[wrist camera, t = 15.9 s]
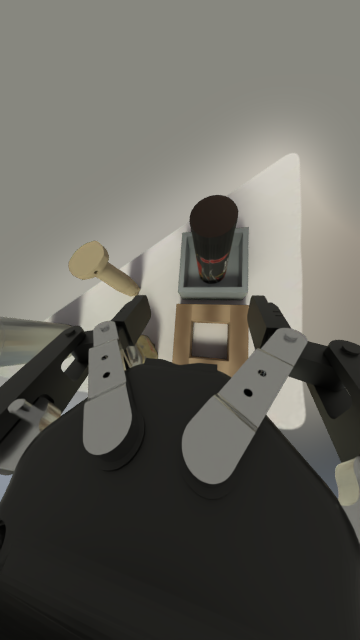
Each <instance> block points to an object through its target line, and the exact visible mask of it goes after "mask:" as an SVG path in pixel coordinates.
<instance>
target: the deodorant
mask: <svg viewBox="0 0 360 640" xmlns="http://www.w3.org/2000/svg"><path fill="white" fill-rule="evenodd" d="M237 218H238V209H237V206H236V204H235V203H234V201H233V200H231V199H230V198H228V197H226V196H222V195H213V196H209V197H207V198H204V199H203V200H201V201H199V202H198V203H197V204H196V205H195V206H194V208H193V210H192V211H191V215H190V226H191V232H192V237H193V243H194V249H195V254H196V260H197V265H198V271H199V276H200V278H201V279H202V280H203V281H204V282H205V283H208V284H215V283H218V282H220V281H221V280H222V279H223V278H224V276H225V274H226V270H227V265H228V260H229V256H230V251H231V246H232V242H233V237H234V232H235V228H236V223H237Z"/></svg>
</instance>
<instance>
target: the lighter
mask: <svg viewBox="0 0 360 640" xmlns="http://www.w3.org/2000/svg"><path fill="white" fill-rule="evenodd" d="M127 351H128V354H129V357H130V361H131V365H132V367H133V366H136V365H139V364H143V363H144V362H145V360H146V358H153V359H157V358H158V354H157V352H156V350H155V346H154V344H153V343H151V341H150V339H149V338H148V337H147V336H145V335H140V337H139V339H138V341H137V343H136V344H135V346H128V347H127Z"/></svg>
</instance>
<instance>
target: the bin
mask: <svg viewBox="0 0 360 640" xmlns="http://www.w3.org/2000/svg"><path fill="white" fill-rule="evenodd" d="M248 235H249V227H245V228H235V232H234V237H233V242H232V246H231V251H230V256H229V260H228V265H227V270H226V274H225V276H224V278H223V279H222V280H221V281H220V282H218V283H215V284H208V283H205V282H204V281H203V280H202V279H201V278H200V276H199V271H198V265H197V260H196V254H195V249H194V243H193V237H192V232H186V233H182V245H181V259H180V273H179V286H178V293H179V294H180V296H181V297H182V299H207V300H243V298H244V297H245V296H246V294H247V293H248Z"/></svg>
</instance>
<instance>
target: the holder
mask: <svg viewBox="0 0 360 640" xmlns="http://www.w3.org/2000/svg"><path fill="white" fill-rule="evenodd" d="M248 309H249V305H209V304H177V305H176V319H175V333H174V346H173V360H172V363H174V364H177V365H184V364H192V363H207V364H217V370H218V371H221V372H223V373H225V374H227V375H229V376H230V377H233V375H234V374H235V373H236V372H237V371H238V370H239V368H240V367H241V366H242V365H243V364H244V363H245V362H246V360H247V359H248V328H249V326H248V322H247V314H248ZM193 322H197V323H219V324H228V339H227V359H218V358H207V357H196V356H191V355H192V338H193Z"/></svg>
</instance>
